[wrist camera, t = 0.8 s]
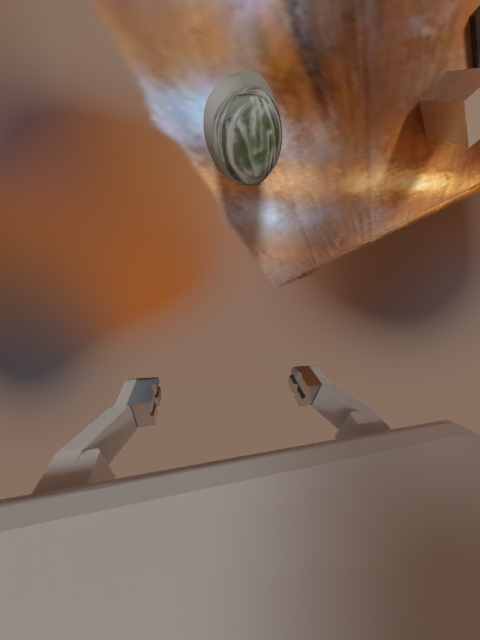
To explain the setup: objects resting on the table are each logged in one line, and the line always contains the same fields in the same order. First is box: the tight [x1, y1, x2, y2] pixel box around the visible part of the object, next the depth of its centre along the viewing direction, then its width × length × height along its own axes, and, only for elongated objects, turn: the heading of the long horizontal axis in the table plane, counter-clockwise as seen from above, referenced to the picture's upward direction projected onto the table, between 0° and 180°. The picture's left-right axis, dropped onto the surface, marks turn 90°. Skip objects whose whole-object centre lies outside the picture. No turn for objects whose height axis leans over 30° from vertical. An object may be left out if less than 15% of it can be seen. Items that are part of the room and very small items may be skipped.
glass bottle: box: [204, 70, 282, 186], centre depth 26 cm, size 10×10×28 cm
